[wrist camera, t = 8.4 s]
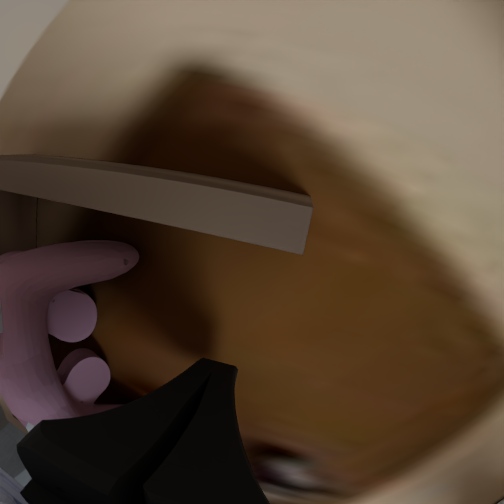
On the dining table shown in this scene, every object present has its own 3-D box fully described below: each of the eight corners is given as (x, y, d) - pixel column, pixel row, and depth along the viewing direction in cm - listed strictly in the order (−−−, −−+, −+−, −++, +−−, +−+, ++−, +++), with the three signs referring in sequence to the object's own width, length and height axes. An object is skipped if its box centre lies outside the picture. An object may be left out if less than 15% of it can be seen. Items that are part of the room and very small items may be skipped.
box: (239, 467, 14) (222, 525, 10) (44, 386, 15) (7, 419, 11) (310, 196, 10) (313, 207, 6) (28, 154, 12) (-36, 157, 8)
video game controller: (95, 225, 14) (-42, 253, 8) (148, 236, 11) (-42, 280, 5) (124, 394, 16) (25, 440, 10) (175, 434, 13) (61, 500, 8)
